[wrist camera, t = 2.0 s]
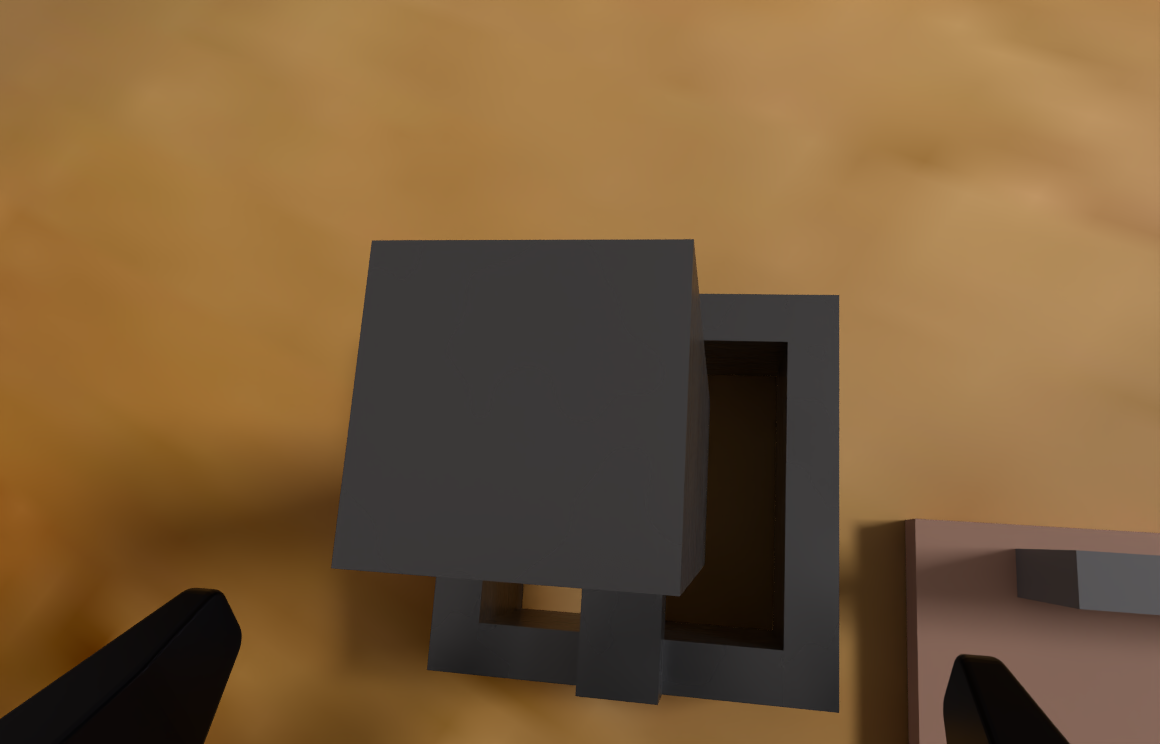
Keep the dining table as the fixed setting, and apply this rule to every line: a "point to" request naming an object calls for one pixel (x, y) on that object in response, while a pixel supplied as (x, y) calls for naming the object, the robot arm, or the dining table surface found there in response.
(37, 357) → the dining table surface
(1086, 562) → the plate
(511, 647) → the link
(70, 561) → the dining table surface
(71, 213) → the dining table surface
